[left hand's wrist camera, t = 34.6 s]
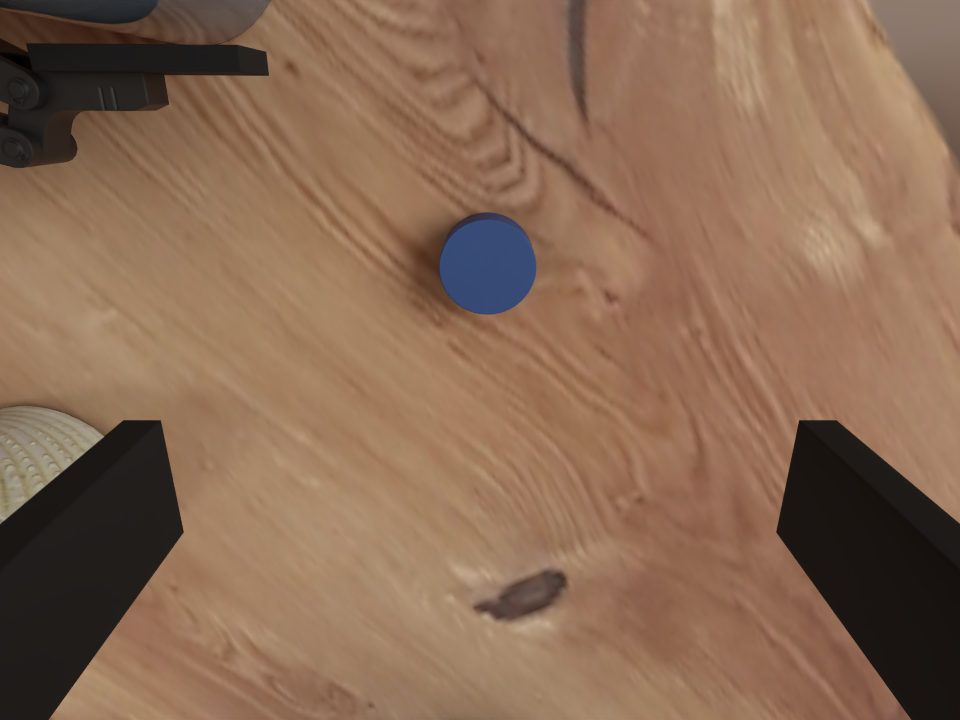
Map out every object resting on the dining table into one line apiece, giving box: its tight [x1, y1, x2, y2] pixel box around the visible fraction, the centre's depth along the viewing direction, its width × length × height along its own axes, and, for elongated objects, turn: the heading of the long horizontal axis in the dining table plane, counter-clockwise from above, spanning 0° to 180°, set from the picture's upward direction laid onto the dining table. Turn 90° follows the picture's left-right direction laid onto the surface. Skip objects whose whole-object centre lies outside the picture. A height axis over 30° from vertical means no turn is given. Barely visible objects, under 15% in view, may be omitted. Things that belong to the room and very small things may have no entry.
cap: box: [439, 213, 536, 314], centre depth 29 cm, size 4×4×2 cm
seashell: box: [0, 406, 104, 524], centre depth 31 cm, size 8×8×8 cm
